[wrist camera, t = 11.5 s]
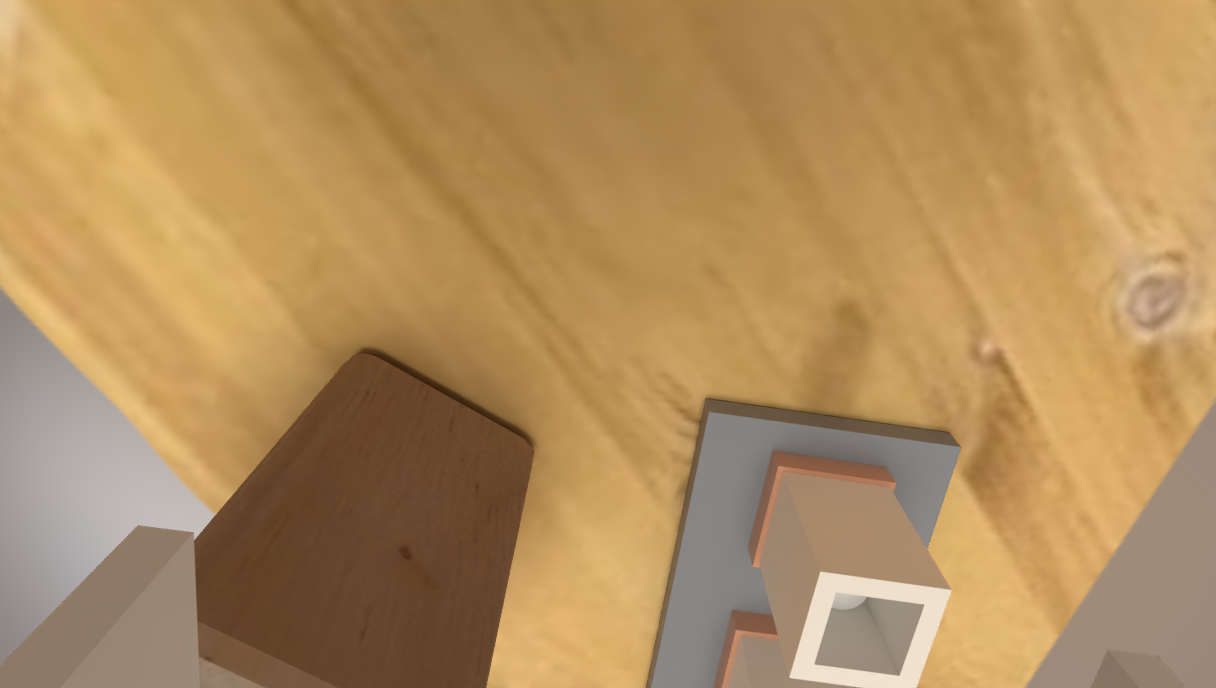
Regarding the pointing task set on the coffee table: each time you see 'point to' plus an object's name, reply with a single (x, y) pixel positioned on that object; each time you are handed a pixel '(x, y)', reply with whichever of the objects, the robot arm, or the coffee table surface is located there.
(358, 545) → the wooden block
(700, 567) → the pin board
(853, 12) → the coffee table surface
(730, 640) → the sleeve
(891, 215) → the coffee table surface
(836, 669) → the sleeve
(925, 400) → the coffee table surface
